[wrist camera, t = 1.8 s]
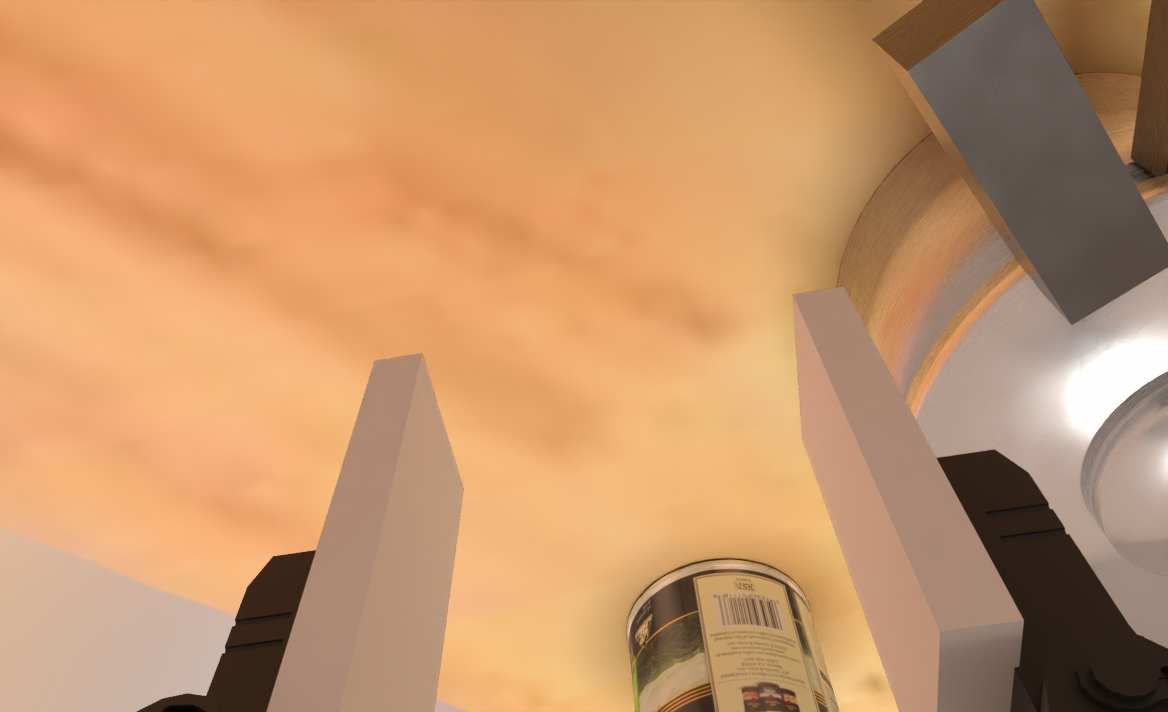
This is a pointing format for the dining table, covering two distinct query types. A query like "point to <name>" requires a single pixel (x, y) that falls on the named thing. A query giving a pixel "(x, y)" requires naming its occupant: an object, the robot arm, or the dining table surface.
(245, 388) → the dining table surface
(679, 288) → the dining table surface
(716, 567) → the coffee can
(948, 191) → the pot
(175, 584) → the dining table surface
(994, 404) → the lid
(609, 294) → the dining table surface
